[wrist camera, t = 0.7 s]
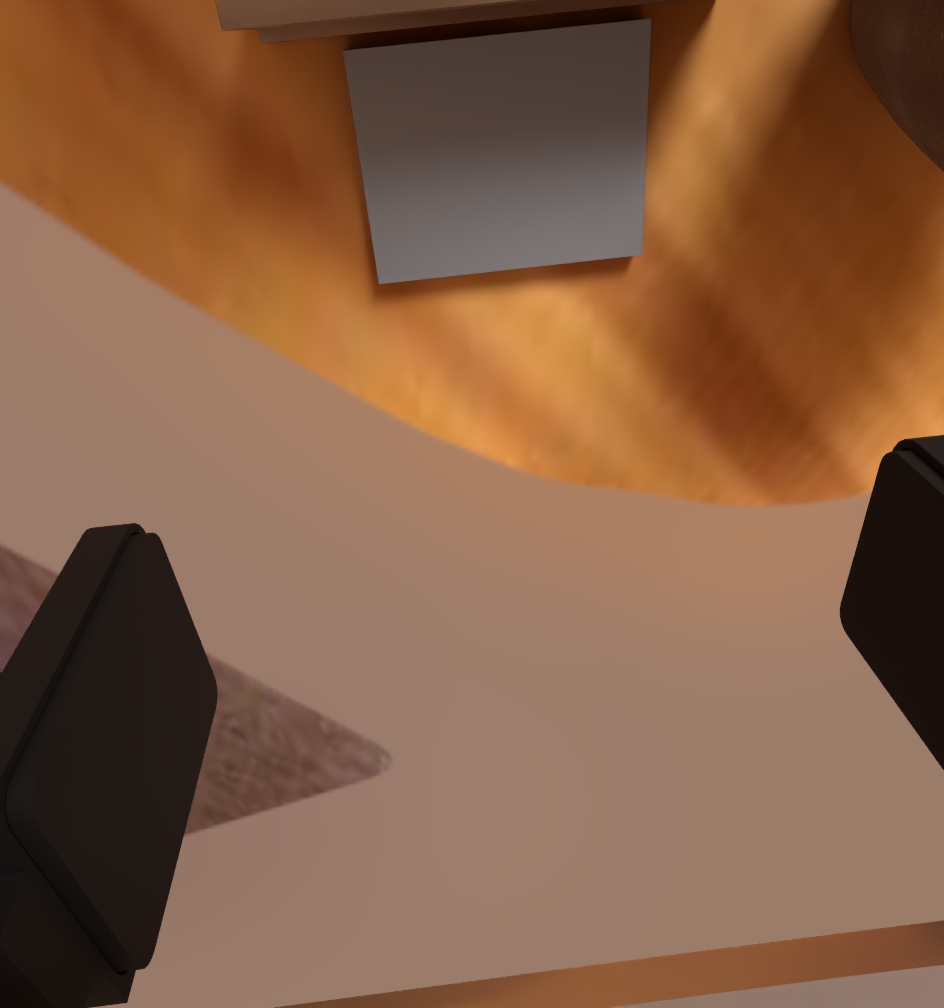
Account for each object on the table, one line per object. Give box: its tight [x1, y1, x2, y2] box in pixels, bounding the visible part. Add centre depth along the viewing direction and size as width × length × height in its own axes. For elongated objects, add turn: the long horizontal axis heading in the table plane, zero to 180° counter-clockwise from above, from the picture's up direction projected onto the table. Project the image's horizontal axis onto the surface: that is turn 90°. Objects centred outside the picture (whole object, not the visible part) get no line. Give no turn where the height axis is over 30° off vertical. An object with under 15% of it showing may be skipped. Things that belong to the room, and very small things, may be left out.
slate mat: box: [343, 19, 651, 284], centre depth 31 cm, size 9×12×1 cm
